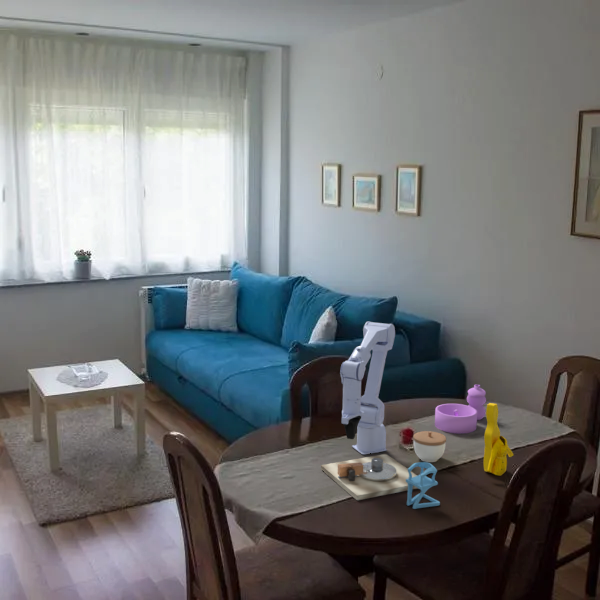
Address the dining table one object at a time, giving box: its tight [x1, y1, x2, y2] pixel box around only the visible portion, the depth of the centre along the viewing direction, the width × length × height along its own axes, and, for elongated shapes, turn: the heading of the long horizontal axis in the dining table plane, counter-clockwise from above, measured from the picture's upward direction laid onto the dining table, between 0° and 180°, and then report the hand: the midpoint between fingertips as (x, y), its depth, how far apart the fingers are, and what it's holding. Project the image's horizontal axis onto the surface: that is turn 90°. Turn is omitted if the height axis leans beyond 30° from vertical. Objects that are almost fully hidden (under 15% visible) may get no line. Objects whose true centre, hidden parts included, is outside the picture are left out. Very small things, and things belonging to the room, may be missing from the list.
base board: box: [320, 453, 418, 501], centre depth 233 cm, size 24×24×4 cm
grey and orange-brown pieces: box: [338, 458, 396, 481], centre depth 231 cm, size 18×12×4 cm, turn 105°
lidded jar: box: [412, 430, 447, 463], centre depth 248 cm, size 11×11×9 cm
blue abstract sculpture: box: [406, 461, 441, 510], centre depth 215 cm, size 8×8×12 cm
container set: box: [434, 384, 487, 434], centre depth 282 cm, size 25×15×13 cm, turn 135°
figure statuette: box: [483, 402, 514, 476], centre depth 237 cm, size 18×8×22 cm, turn 140°
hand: (350, 438), depth 240 cm, fingers closed
